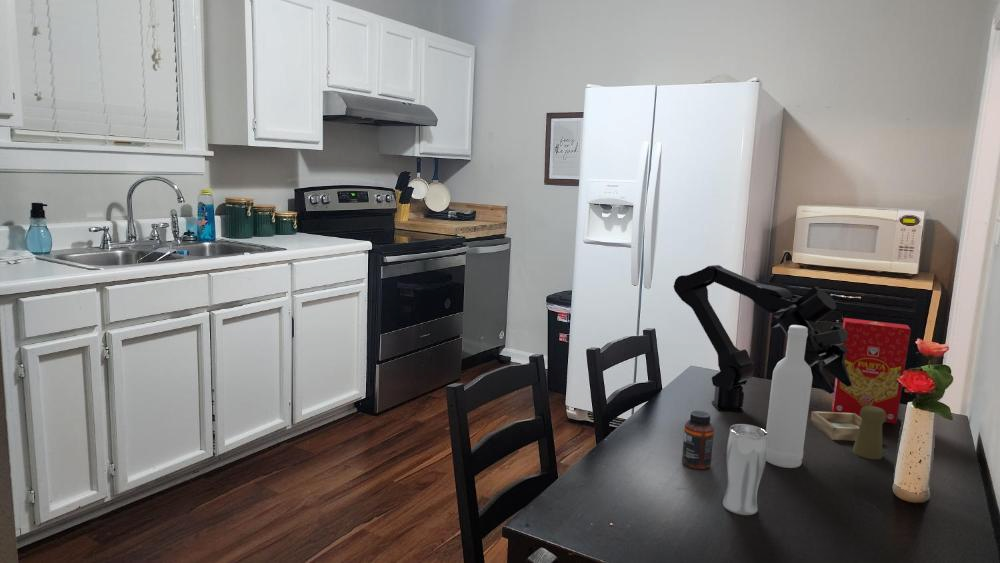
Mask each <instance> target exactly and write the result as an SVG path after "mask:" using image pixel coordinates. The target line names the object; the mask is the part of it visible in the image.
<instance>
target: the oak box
mask: <svg viewBox="0 0 1000 563" xmlns="http://www.w3.org/2000/svg"><path fill="white" fill-rule="evenodd" d="M861 421H862V419H861V417H860V416H858V415H857V414H855V413H840V412H833V411H816V410H815V411H811V415H810V423H811V425H813V426H814V427H815V428H817V430H819V431H820V432H821V433H823V435H825V436H826V437H827V438H829V439H830V440H831V441H832V440H833V441H852V442H855V440H856V437H857V434H858V431H859V427H860V424H861Z"/></svg>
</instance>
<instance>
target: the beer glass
mask: <svg viewBox="0 0 1000 563" xmlns="http://www.w3.org/2000/svg"><path fill="white" fill-rule="evenodd" d="M767 440H768V433H767V432H766V429H763V428H761V427H758V426H756V425H752V424H747V423H735V424H732V425H731V426H730V427H729V431H728V437H727V443H726V448H725V449H726V450H725V468H726V481H727V482H726V490H725V493H724V497H723V500H722V505H723V507H724V508H725V509H726V511H727V510H728V511H729V512H731V513H734V514H736V515H741V516H752V515H753V516H754V515H755V514H757V512H758V489H759V486H760V482H761V479H762V477H763V473H764V470H765V468H766V462H767V461H766V457H767Z"/></svg>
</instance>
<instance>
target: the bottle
mask: <svg viewBox="0 0 1000 563" xmlns="http://www.w3.org/2000/svg"><path fill="white" fill-rule="evenodd" d="M807 336H808V329H807V328H806V327H805V326H800V325H791V326H789V330H788V336H787V343H786V349H785V350H786V351H785V357H783V358H782V359H781V360H779V361H778V362H777V363H776V365H775V367H774V368H773V370H772V378H771V386H770V395H769V402H768V403H769V404H768V412H767V419H766V428H765V431H766V432H767V433H768V440H767V457H766V462H767V463H769V464H771V465H773V466H776V467H779V468H786V469H787V468H788V469H794V468H795V469H797V468H799V467H801V465H802V462H803V458H804V447H805V439H806V431H807V423H808V415H809V409H810V400H811V393H812V385H813V383H812V379H813V377H812V372H811V368H810V367H809V365H808V364H807V363H806V362H805V361H804V355H805V348H806V340H807Z"/></svg>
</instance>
